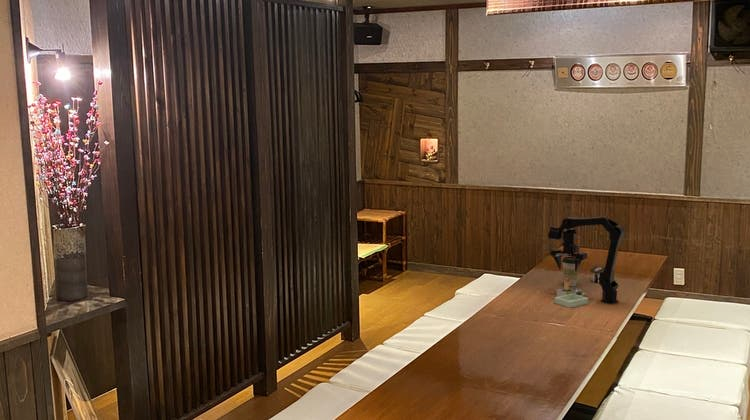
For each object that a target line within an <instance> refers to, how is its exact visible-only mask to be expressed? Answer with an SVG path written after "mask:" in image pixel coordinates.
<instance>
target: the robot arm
mask: <svg viewBox="0 0 750 420" xmlns="http://www.w3.org/2000/svg"><path fill="white" fill-rule="evenodd" d="M599 225H601V226H602V227H603V228H604V229H605V230H606V232H608V233H609V242H610V243H609V248H608V253H607V257H606V262H605V266H604V268H605V269H604V270H603V271H601V272H600V273H599V278H598V279H597V281H598V280H599V283H598V284H599V286H601V289H602V295H601V299H600V302H604V303H608V304H610V305H611V304H614V303H619V300H618V297H617V296H618V290H617V289H618V288H619V284H618V282H617V281H616V280H615V270H614V269H615V265H616V261H617V257H618V253H619V252H618V251H619V247H620V243H621V242H622V240H623V238H624V236H625V233H626V229H625V227H624V226H623V225H622V224H619V223H618V222H616V221H613V220H612V219H611V218H610V217H609V216H606V215H604V216H596V217H584V218H583V217H576V216H568V217H565V218H563V220H562V223H561V224H560V226H559V227H558V226H550V228H549V231H548V236H547V237H548V240H556V241H562V243H561V246H562V249H560V248H553V249H551V250H550V252H549V255H550V256H551V258H553V259H554V261H555V263H556V264H557V267H558V269H559V270H561V269H562V258H563V256H564V257H575V258H576V259H575V272H577V270H578V268H579V269H580V265H581V263H582V261H585V260H587V259H588V254H587V252H581V251H580V249H581V248H580V246H578V245H577V243H576V242H575V237H576V236H575V235H577V234H578V233H579V231H578V230H577V228H578V227H585V226H599ZM562 239H563V240H562Z"/></svg>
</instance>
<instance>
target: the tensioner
mask: <svg viewBox="0 0 750 420" xmlns="http://www.w3.org/2000/svg"><path fill="white" fill-rule="evenodd" d="M568 294H576V295H580V296H583V297H586V296H587V295H588V294H587V293H586V292H583V290H582V289H581V288H578V287H575V288H571V289H570V288H569V291H568V292H566V291H564V287H563V288H559V289H556V297H559V296H564V295H568Z"/></svg>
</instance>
